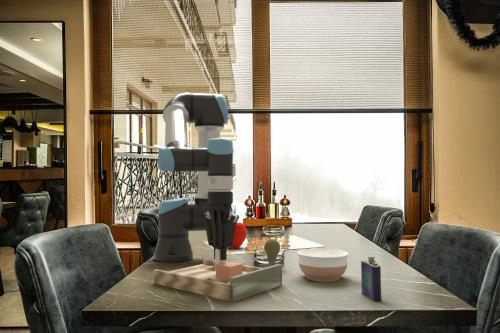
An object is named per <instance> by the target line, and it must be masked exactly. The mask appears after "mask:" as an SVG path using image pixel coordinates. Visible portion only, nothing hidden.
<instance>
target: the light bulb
mask: <svg viewBox="0 0 500 333" xmlns="http://www.w3.org/2000/svg"><path fill="white" fill-rule="evenodd" d="M263 247H264V248H263V249H264V252H265V253H266V257H267V261H268V267H269V266H273V265H277V263H276V262H277V258H278V255H279V253H280V251H281V245H280V242H279V241H278V240H277V239H274V238H270V239H267V240H266V241H265V243H264V245H263Z"/></svg>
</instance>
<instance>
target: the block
mask: <svg viewBox="0 0 500 333" xmlns="http://www.w3.org/2000/svg"><path fill="white" fill-rule="evenodd" d="M243 265H244V264H243V263H241V262H234V261H225V262H224V263H220V264H216V278H217V279H222V280H227V281H230V277H234V276H237V275H241V274H243Z"/></svg>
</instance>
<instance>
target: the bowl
mask: <svg viewBox="0 0 500 333" xmlns="http://www.w3.org/2000/svg"><path fill="white" fill-rule="evenodd" d="M297 255H298V267H299V269H300V271H301V272H302V273H303V275H305V278H306V279H307V280H310V281H314V282H323V283H324V282H326V283H327V282H335V281H339V280H340V279H341V277H342V276H343V275H344V274H345V272H346V270H347V269H348V257H349V255H350V254H349V252H347V251H345V250H341V249H335V248H325V247H324V248H321V247H319V248H305V249H300V250H298V251H297Z"/></svg>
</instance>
